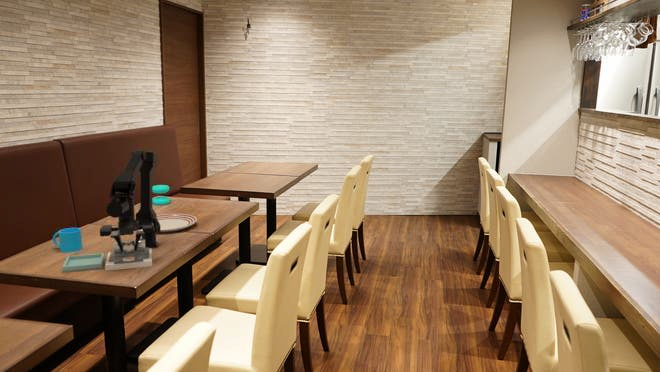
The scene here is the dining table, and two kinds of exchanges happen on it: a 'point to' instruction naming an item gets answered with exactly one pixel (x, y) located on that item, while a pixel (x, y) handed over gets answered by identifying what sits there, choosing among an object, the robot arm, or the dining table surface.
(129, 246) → the cylinder
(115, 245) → the cylinder
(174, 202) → the dining table surface
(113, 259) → the scale
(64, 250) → the mug
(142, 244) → the cylinder
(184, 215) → the dinner plate
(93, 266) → the tray
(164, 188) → the donuts
